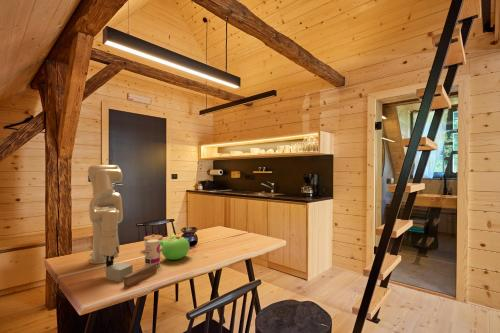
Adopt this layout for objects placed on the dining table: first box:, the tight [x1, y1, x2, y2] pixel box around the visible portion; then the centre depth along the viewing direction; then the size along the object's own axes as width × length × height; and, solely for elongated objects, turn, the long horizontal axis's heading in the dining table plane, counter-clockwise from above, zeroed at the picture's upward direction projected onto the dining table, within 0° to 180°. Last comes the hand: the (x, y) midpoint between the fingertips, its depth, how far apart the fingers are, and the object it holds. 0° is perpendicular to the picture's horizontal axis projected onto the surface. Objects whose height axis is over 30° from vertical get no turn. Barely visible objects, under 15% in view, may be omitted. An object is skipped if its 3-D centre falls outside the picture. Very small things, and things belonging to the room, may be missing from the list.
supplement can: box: [144, 239, 161, 268], centre depth 157 cm, size 8×8×15 cm
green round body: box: [160, 233, 191, 261], centre depth 170 cm, size 18×17×15 cm
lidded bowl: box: [143, 233, 164, 248], centre depth 188 cm, size 13×13×11 cm
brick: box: [105, 262, 133, 283], centre depth 141 cm, size 10×8×6 cm
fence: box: [123, 263, 157, 289], centre depth 138 cm, size 2×20×5 cm, turn 159°
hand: (109, 267), depth 143 cm, fingers closed
